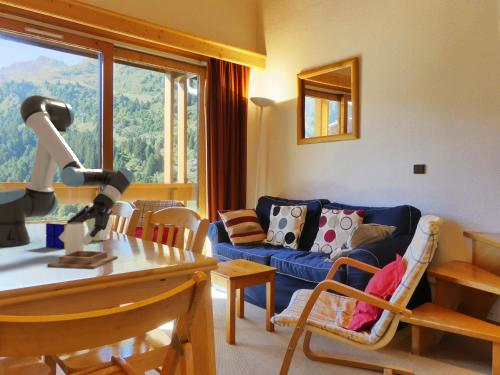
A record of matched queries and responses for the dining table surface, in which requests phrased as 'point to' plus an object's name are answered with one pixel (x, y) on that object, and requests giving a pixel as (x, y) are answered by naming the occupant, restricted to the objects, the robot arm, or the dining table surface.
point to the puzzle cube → (55, 234)
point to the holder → (83, 259)
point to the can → (74, 237)
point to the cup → (103, 233)
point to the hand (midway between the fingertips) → (72, 241)
